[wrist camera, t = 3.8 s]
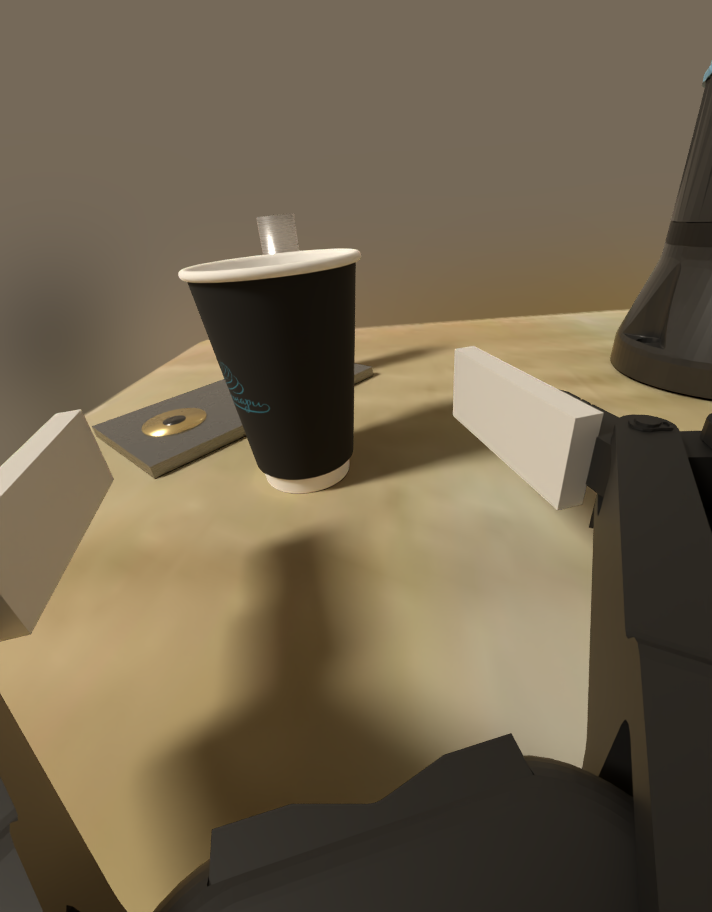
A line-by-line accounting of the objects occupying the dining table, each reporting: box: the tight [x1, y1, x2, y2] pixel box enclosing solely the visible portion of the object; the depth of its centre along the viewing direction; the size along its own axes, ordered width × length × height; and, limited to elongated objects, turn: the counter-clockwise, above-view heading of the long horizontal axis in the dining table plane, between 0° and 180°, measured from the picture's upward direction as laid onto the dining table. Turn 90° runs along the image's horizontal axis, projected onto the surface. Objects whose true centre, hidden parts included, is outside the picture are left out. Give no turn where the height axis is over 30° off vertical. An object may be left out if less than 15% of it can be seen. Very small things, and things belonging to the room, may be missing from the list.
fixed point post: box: [256, 214, 299, 255], centre depth 34 cm, size 4×4×12 cm
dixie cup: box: [179, 249, 361, 493], centre depth 21 cm, size 8×8×11 cm
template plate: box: [92, 363, 373, 478], centre depth 33 cm, size 20×10×1 cm, turn 138°
